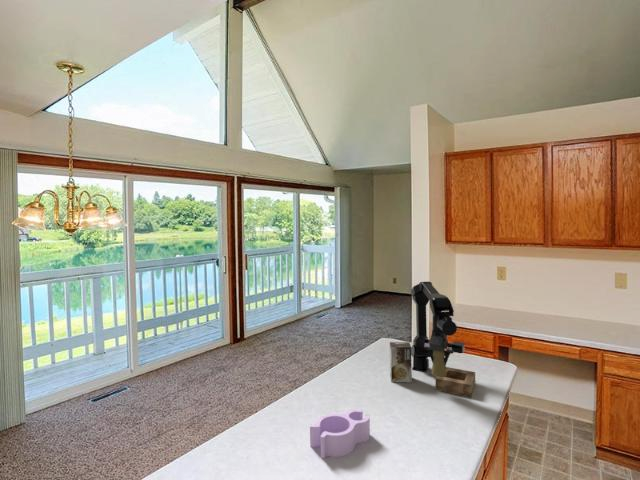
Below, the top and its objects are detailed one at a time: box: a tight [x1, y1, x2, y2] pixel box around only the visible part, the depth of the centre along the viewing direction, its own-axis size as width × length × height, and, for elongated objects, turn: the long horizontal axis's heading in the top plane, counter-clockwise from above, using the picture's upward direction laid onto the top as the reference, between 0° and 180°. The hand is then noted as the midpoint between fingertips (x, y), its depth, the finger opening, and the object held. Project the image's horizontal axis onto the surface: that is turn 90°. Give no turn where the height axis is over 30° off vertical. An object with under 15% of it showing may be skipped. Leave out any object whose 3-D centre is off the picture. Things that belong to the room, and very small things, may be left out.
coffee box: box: [389, 341, 413, 383], centre depth 166 cm, size 9×6×16 cm
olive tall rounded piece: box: [431, 348, 447, 377], centre depth 153 cm, size 6×6×11 cm
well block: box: [434, 366, 476, 398], centre depth 159 cm, size 14×14×5 cm
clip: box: [309, 408, 371, 459], centre depth 121 cm, size 20×12×7 cm, turn 121°
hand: (439, 364), depth 153 cm, fingers closed on olive tall rounded piece, 4 cm apart
